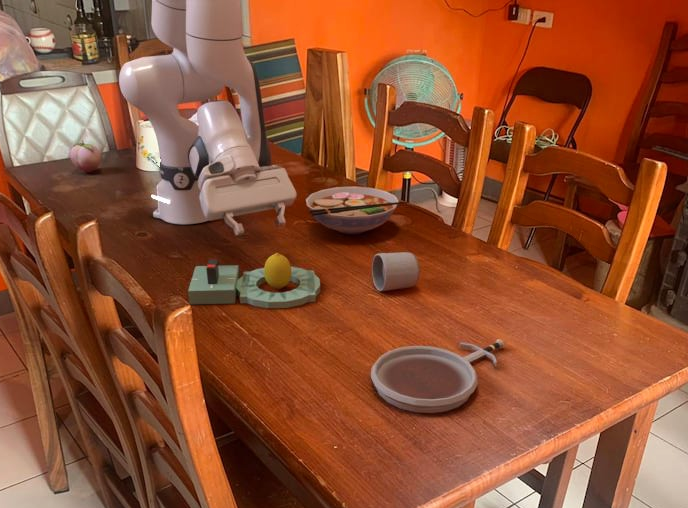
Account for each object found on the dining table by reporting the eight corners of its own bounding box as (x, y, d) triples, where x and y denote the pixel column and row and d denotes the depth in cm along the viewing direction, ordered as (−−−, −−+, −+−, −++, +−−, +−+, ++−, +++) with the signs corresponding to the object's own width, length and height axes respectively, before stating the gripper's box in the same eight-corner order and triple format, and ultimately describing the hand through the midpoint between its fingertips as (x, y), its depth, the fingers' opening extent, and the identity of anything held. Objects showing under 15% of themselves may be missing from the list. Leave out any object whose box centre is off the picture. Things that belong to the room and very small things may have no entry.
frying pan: (544, 355, 112) (424, 413, 97) (541, 370, 114) (422, 430, 99) (466, 317, 124) (348, 364, 109) (465, 331, 125) (348, 380, 110)
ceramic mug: (421, 291, 138) (423, 256, 134) (384, 297, 136) (385, 261, 132) (399, 272, 147) (401, 238, 143) (364, 277, 145) (365, 243, 141)
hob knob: (210, 274, 138) (208, 258, 137) (219, 274, 139) (217, 258, 137) (207, 284, 135) (206, 267, 133) (217, 283, 135) (215, 267, 133)
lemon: (288, 296, 137) (286, 259, 133) (261, 294, 138) (259, 257, 133) (294, 285, 141) (293, 249, 137) (269, 282, 142) (267, 247, 138)
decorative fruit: (109, 170, 214) (104, 138, 209) (92, 177, 208) (86, 144, 202) (86, 167, 217) (80, 135, 212) (68, 174, 211) (61, 141, 206)
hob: (240, 273, 146) (239, 266, 146) (318, 271, 147) (318, 265, 146) (233, 309, 132) (233, 302, 131) (321, 307, 132) (321, 300, 132)
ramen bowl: (381, 209, 182) (382, 179, 177) (416, 239, 163) (418, 206, 159) (291, 219, 175) (290, 188, 171) (317, 252, 156) (316, 218, 152)
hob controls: (197, 279, 144) (195, 265, 142) (239, 278, 144) (238, 264, 143) (189, 304, 134) (187, 290, 132) (235, 303, 134) (233, 289, 132)
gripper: (278, 171, 148) (300, 227, 146) (190, 186, 140) (212, 245, 137) (287, 155, 143) (310, 213, 141) (195, 169, 134) (218, 231, 132)
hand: (261, 229), depth 139 cm, fingers open, 8 cm apart
